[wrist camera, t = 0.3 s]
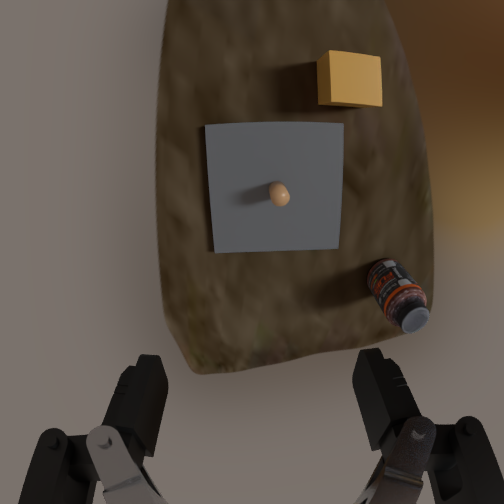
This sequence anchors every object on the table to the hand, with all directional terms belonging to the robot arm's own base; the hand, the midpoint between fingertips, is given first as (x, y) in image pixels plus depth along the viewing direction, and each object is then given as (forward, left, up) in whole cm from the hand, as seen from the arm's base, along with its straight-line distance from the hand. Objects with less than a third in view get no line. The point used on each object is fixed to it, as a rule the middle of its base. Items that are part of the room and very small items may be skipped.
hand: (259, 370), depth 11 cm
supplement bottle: (+12, +19, -28) cm, 35 cm away
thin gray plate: (-1, +3, -27) cm, 28 cm away
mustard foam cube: (-14, +11, -27) cm, 33 cm away
